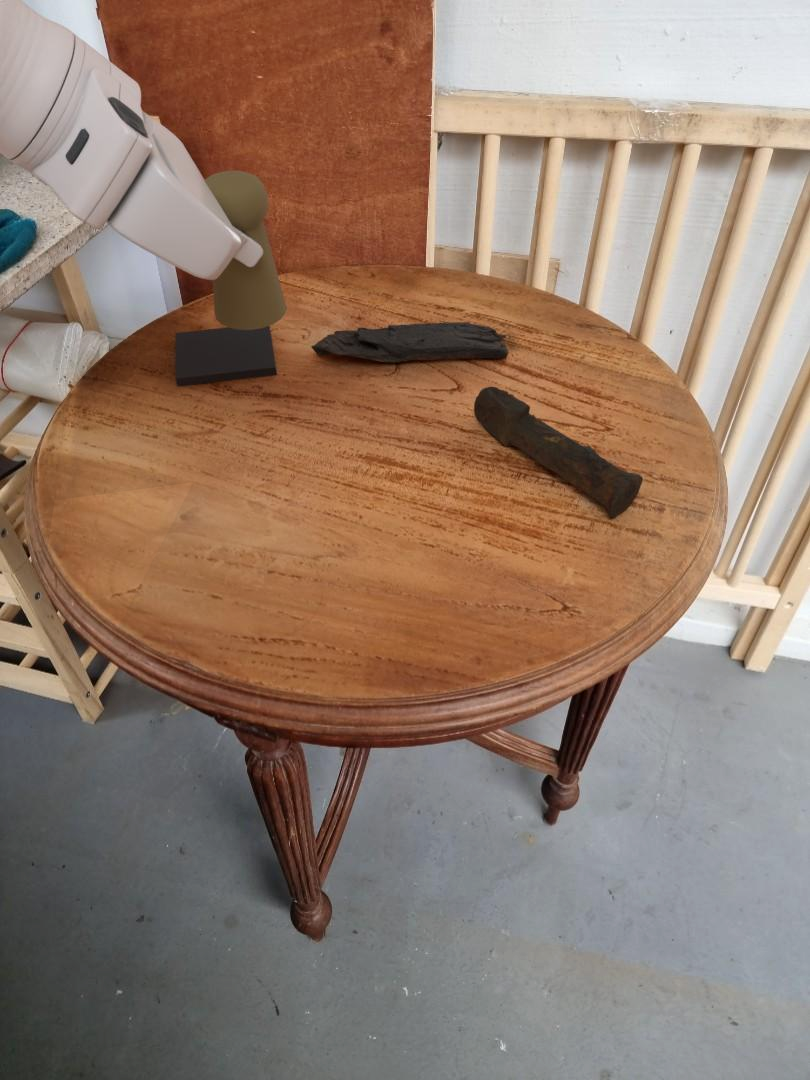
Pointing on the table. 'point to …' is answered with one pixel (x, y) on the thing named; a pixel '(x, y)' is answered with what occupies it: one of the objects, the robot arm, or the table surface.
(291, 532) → the table surface
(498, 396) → the hand tool
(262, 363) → the mat
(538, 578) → the table surface
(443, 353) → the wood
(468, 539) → the table surface
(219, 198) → the olive pawn
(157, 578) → the table surface
